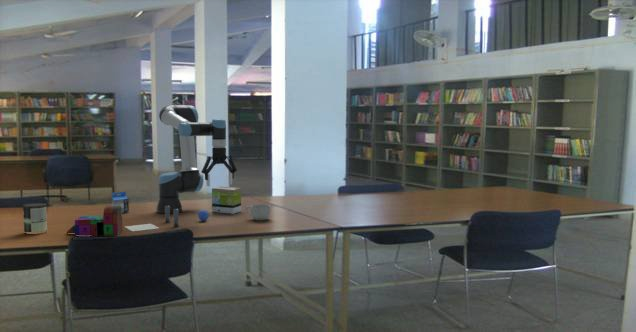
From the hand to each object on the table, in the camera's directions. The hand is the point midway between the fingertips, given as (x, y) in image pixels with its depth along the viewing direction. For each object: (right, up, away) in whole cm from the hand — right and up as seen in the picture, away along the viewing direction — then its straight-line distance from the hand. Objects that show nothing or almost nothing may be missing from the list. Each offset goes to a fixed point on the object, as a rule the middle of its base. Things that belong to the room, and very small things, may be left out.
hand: (219, 185), depth 307 cm
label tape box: (-63, -18, +22) cm, 69 cm away
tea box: (0, -17, +26) cm, 31 cm away
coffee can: (-85, -22, -35) cm, 94 cm away
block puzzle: (-55, -23, -34) cm, 69 cm away
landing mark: (-36, -21, -22) cm, 47 cm away
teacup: (+21, -19, +2) cm, 29 cm away
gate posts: (-23, -20, -13) cm, 33 cm away
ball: (-8, -17, -3) cm, 19 cm away
